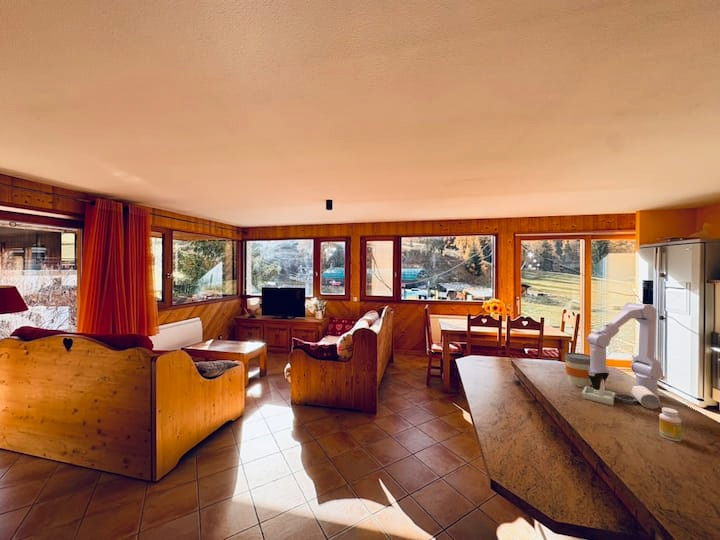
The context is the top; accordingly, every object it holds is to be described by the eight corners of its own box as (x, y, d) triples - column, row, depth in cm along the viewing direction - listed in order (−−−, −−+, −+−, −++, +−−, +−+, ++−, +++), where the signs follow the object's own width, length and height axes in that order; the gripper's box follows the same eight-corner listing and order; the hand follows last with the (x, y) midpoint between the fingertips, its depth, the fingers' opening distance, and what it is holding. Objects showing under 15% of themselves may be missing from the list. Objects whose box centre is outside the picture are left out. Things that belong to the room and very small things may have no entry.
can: (663, 407, 122) (651, 396, 133) (656, 392, 123) (644, 382, 134) (644, 410, 125) (634, 399, 135) (637, 395, 126) (627, 385, 136)
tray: (585, 391, 143) (585, 386, 143) (615, 397, 135) (614, 392, 135) (581, 398, 135) (581, 392, 135) (613, 405, 127) (613, 400, 127)
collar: (613, 394, 138) (613, 391, 138) (638, 400, 132) (637, 396, 132) (612, 400, 132) (612, 397, 132) (637, 406, 126) (637, 402, 126)
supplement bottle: (678, 443, 99) (677, 415, 99) (656, 435, 104) (656, 408, 104) (684, 438, 102) (683, 411, 102) (662, 431, 107) (662, 405, 107)
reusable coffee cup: (592, 382, 153) (592, 354, 153) (596, 391, 142) (596, 360, 142) (564, 378, 160) (563, 351, 160) (565, 385, 149) (565, 356, 149)
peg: (591, 392, 136) (591, 376, 136) (598, 392, 137) (598, 375, 137) (599, 396, 132) (599, 379, 132) (607, 395, 133) (606, 378, 133)
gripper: (601, 364, 128) (602, 394, 128) (615, 359, 135) (615, 388, 135) (583, 360, 134) (583, 389, 134) (597, 355, 141) (597, 383, 141)
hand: (598, 388), depth 135 cm, fingers closed on peg, 4 cm apart
